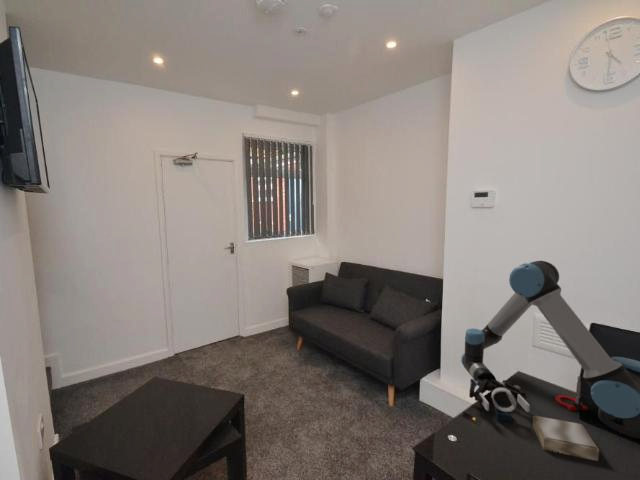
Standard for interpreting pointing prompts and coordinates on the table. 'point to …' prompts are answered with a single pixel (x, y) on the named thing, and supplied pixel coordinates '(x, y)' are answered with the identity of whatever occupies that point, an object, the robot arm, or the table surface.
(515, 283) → the robot arm
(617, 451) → the table surface
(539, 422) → the plate
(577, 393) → the tow hook
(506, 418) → the watch
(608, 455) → the table surface
